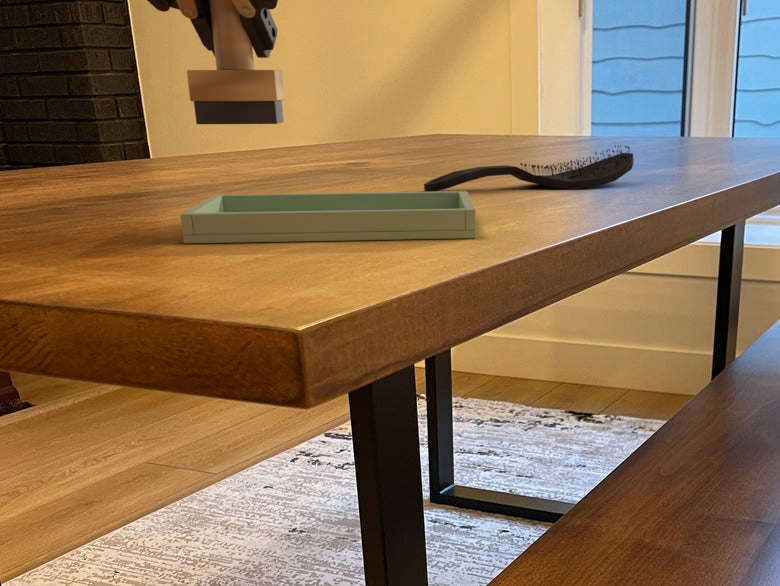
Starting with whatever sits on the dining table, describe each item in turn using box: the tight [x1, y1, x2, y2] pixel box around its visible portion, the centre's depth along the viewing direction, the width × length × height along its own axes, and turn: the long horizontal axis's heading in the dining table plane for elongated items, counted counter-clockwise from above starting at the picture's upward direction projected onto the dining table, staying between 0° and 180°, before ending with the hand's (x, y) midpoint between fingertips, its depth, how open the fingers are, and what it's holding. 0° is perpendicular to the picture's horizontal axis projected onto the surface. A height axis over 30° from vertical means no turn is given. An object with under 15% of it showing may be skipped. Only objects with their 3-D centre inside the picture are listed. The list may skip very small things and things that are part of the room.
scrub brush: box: [186, 0, 285, 125], centre depth 70 cm, size 6×4×10 cm, turn 95°
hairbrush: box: [423, 144, 635, 192], centre depth 110 cm, size 8×4×25 cm
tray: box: [179, 190, 477, 245], centre depth 80 cm, size 22×14×2 cm, turn 95°
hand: (245, 48), depth 72 cm, fingers closed on scrub brush, 2 cm apart
